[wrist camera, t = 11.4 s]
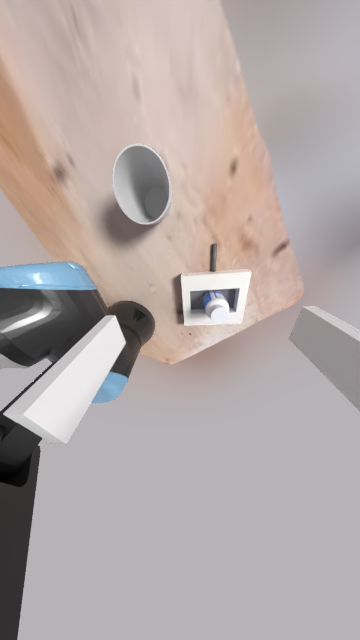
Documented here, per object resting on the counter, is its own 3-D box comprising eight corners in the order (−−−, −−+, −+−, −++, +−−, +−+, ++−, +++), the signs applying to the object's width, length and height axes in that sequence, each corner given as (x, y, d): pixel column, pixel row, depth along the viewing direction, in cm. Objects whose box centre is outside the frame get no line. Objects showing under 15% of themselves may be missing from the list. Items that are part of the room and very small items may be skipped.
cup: (184, 196, 26) (182, 177, 18) (163, 236, 30) (153, 236, 21) (147, 162, 24) (125, 122, 16) (129, 210, 28) (104, 198, 19)
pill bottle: (205, 309, 39) (210, 329, 30) (199, 293, 36) (203, 310, 28) (224, 303, 37) (235, 322, 29) (219, 285, 35) (229, 300, 26)
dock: (184, 320, 41) (184, 325, 39) (179, 246, 31) (178, 247, 28) (238, 318, 40) (241, 323, 37) (251, 240, 29) (257, 240, 27)
